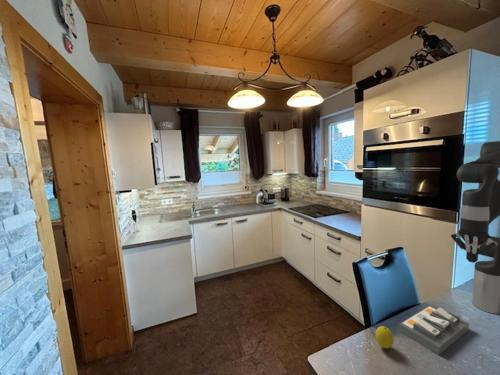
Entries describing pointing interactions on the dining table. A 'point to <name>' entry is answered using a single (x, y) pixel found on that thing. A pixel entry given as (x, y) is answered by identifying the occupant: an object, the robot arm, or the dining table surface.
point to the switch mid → (438, 321)
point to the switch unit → (428, 338)
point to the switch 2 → (445, 314)
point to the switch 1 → (428, 327)
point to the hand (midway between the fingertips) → (471, 261)
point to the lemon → (384, 337)
